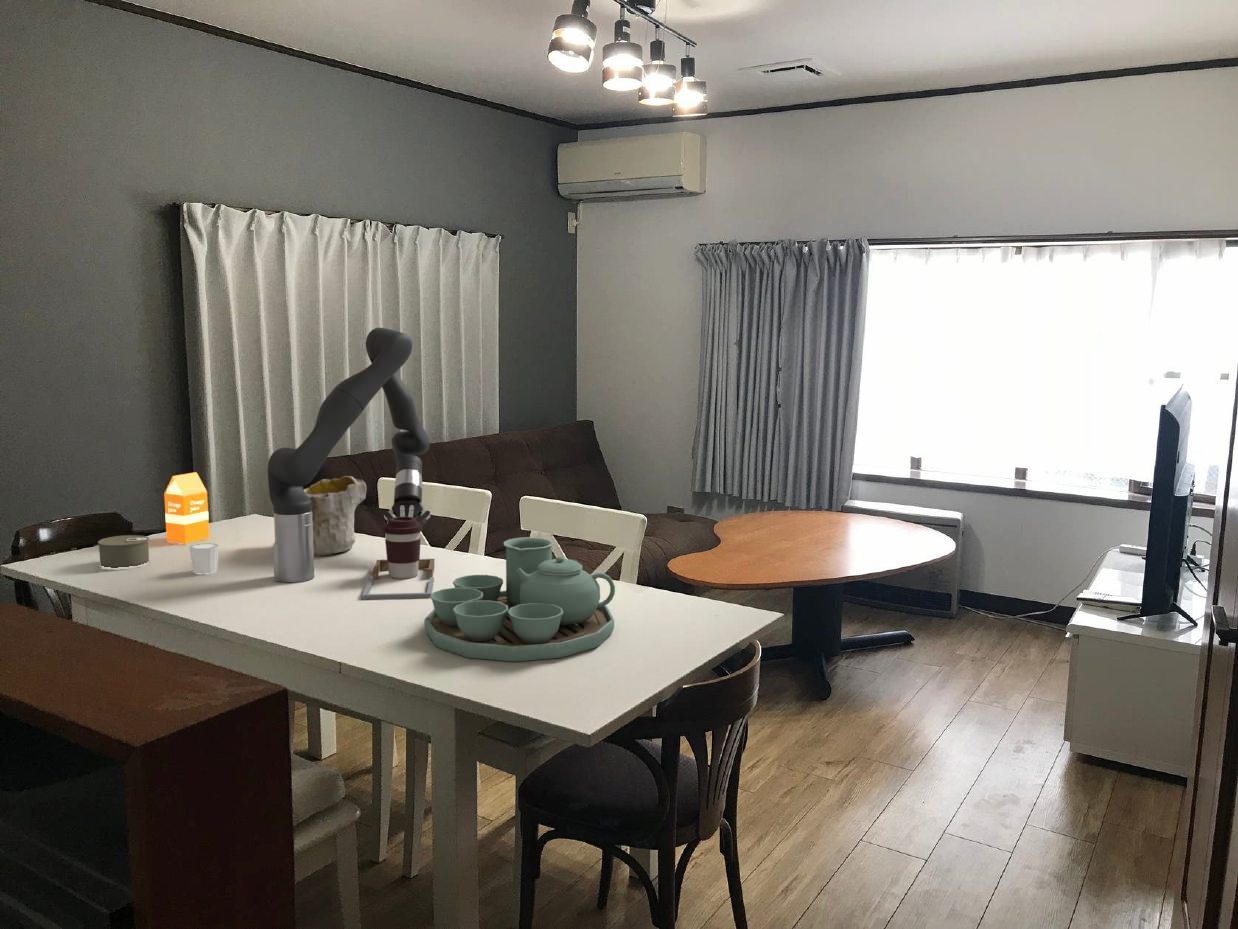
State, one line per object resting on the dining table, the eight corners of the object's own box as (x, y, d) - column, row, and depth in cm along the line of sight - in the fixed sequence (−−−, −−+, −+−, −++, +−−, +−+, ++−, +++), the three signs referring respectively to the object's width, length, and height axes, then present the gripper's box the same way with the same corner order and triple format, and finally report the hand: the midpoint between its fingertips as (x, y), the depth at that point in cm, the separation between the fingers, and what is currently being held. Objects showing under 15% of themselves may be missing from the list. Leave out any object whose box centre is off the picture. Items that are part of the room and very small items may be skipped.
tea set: (401, 619, 212) (400, 547, 210) (563, 596, 232) (564, 530, 229) (465, 678, 178) (465, 592, 175) (649, 645, 198) (650, 567, 195)
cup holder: (372, 580, 243) (372, 570, 242) (377, 569, 254) (376, 559, 253) (432, 579, 245) (432, 569, 244) (434, 567, 256) (434, 558, 256)
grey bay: (362, 599, 226) (361, 595, 226) (369, 582, 241) (369, 578, 240) (431, 597, 228) (430, 593, 228) (434, 581, 243) (433, 577, 243)
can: (100, 562, 257) (98, 537, 256) (149, 557, 263) (148, 533, 262) (99, 572, 247) (97, 546, 246) (150, 567, 252) (149, 542, 251)
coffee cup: (401, 583, 241) (400, 524, 239) (375, 576, 247) (374, 519, 244) (431, 575, 249) (430, 518, 246) (405, 568, 254) (404, 513, 252)
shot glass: (206, 576, 244) (205, 550, 243) (184, 574, 246) (183, 547, 245) (225, 570, 250) (224, 544, 249) (204, 568, 252) (203, 542, 251)
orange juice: (209, 539, 286) (206, 472, 283) (185, 545, 278) (182, 477, 275) (190, 536, 289) (187, 470, 286) (166, 542, 281) (162, 474, 278)
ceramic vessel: (245, 530, 259) (276, 452, 271) (290, 568, 279) (317, 494, 292) (318, 535, 253) (347, 455, 265) (358, 574, 273) (384, 497, 285)
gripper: (382, 481, 262) (379, 535, 252) (431, 481, 264) (430, 534, 254) (385, 497, 268) (381, 550, 258) (433, 496, 270) (431, 549, 260)
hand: (406, 542), depth 256 cm, fingers closed
